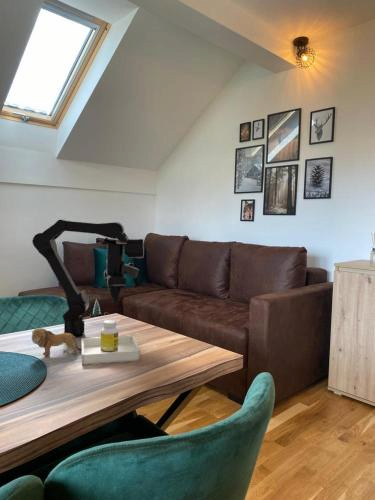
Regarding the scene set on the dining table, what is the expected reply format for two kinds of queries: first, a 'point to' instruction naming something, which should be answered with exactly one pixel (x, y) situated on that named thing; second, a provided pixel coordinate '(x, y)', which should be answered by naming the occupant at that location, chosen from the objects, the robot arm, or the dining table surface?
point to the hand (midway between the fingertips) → (114, 300)
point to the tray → (125, 352)
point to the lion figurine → (53, 340)
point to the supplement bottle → (109, 337)
